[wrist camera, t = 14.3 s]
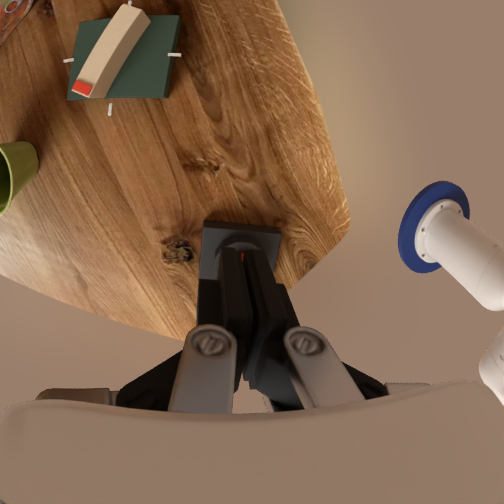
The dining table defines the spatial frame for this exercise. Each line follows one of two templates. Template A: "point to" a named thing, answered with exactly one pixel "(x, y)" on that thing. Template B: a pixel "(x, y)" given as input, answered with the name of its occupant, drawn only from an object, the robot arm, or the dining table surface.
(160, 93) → the dial base
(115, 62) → the beige rectangular block
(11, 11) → the tin
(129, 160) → the dining table surface
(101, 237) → the dining table surface
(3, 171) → the plant pot
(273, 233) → the control block
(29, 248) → the dining table surface
